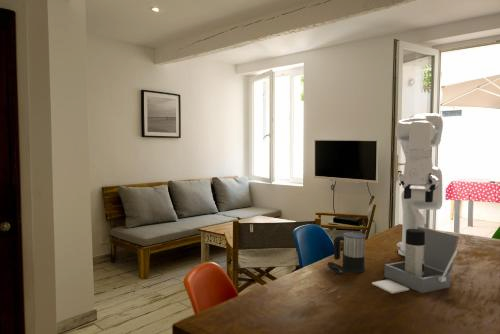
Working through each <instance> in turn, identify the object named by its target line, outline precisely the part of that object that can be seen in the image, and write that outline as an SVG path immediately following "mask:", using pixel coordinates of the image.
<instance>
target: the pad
mask: <svg viewBox="0 0 500 334" xmlns="http://www.w3.org/2000/svg"><path fill="white" fill-rule="evenodd" d="M371 284H372V285H373V286H375V287H377V288H379V289H381V290H384V291H385V292H388V293H390V294H397V293H400V292H401V293H402V292H406V291H410V288H409V287H407V286H404V285H402V284H400V283H397V282H395V281H393V280H390V279H384V280H377V281H373V282H371Z"/></svg>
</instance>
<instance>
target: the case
mask: <svg viewBox="0 0 500 334" xmlns="http://www.w3.org/2000/svg"><path fill="white" fill-rule="evenodd" d="M417 229H420V230H423V231H425V253H424V278H421V277H419V276H416V275H413V274H411V273H408V272H406V271H405V260H403V261H397V262H392V263H385V264H384V272H383V273H384V274H383V275H384V278H386V279H387V280H391V281H393V282H395V283H398V284H400V285H402V286H404V287H407V288H409V289H411V290H414V291H416V292H417V293H420V294H425V293H430V292H434V291H435V292H436V291H438V290H445V289H449V288H450V287H451V286H450V285H451V276H452V270H453V266H454V261H455V258H456V255H457V253H458V250H457V248H458V243H459V238H460V237H459V236H457V235H454V234H450V233H446V232H442V231H439V230H438V231H437V230H432V229H429V228H425V227H424V228H421V227H417Z"/></svg>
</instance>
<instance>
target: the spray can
mask: <svg viewBox="0 0 500 334" xmlns="http://www.w3.org/2000/svg"><path fill="white" fill-rule="evenodd" d="M424 253H425V231H423V230H420V229H407V230H406V248H405V256H404V261H405V271H406V272H408V273H411V274H413V275H416V276H419V277H421V278H424Z"/></svg>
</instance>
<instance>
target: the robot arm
mask: <svg viewBox="0 0 500 334" xmlns="http://www.w3.org/2000/svg"><path fill="white" fill-rule="evenodd" d="M443 121H444V120H443V118H442V116H441V115H440V114H439V113H423V114H422V113H417V114H414V115H413V114H412V115H411V116H410V117H409V118H407V119H401V120H399V121H397V123H396V125H395V133H394V134H395V138H396V139H397V141H398V142H400V145H401V149H402V151H403V154H404V157H405V158H404V159H405V163H404V167H403V169H404V170H403V174H402V175H399V177H398V179H399V181H400V185H401V186H402V189H403V191H402V192H401V196H400V197H401V206H402V233H401V234H402V236H401V241H398V243H396V247H399V249H398V250H397V251H398V252H397V253H398V255H400V256H403V257H405V248H406V230H407V229H417V227H421V228H425V217H424V215H423V213H421V211H420V210H431V211H437V210H438V211H439V210H440V209H441V208H442V205H443V174H442V171H441V169H440V168H439V167H437V166H433V161H432V158H431V152H432V151H431V148H434V147H438V146H439V145H440V144H441V141H442V134H443V129H444V128H443V127H444V122H443ZM411 187H424V188H411Z"/></svg>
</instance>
